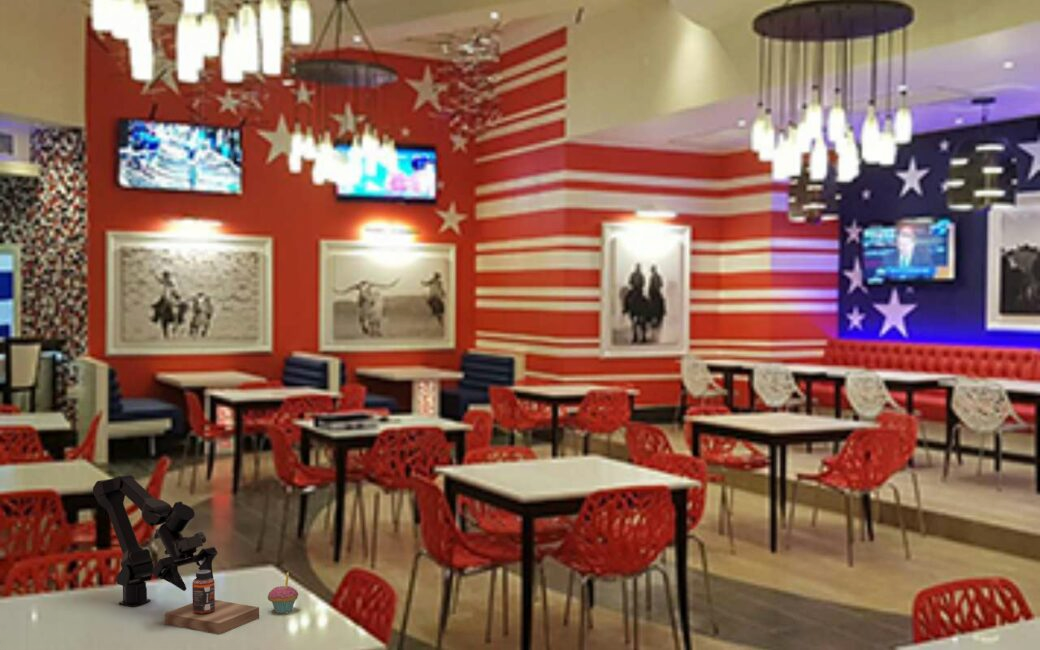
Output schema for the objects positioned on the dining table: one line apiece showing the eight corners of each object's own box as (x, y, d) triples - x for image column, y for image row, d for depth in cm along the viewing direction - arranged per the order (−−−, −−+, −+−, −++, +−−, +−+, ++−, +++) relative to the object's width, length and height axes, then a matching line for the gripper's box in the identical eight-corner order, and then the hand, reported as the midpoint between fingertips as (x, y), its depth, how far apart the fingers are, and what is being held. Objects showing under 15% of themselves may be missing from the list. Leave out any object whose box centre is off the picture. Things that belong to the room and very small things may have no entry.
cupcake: (304, 608, 311) (303, 567, 311) (286, 617, 304) (285, 575, 303) (280, 605, 315) (279, 564, 315) (261, 613, 307) (261, 571, 307)
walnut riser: (164, 624, 298) (164, 613, 298) (205, 608, 312) (205, 598, 312) (219, 634, 289) (219, 623, 289) (259, 617, 303) (259, 607, 303)
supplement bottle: (214, 614, 297) (213, 573, 296) (191, 615, 296) (191, 574, 295) (215, 607, 303) (215, 568, 302) (193, 609, 302) (193, 569, 301)
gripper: (158, 530, 295) (183, 576, 289) (213, 518, 310) (238, 562, 304) (141, 554, 300) (166, 600, 294) (196, 541, 315) (221, 585, 309)
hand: (199, 586), depth 300 cm, fingers open, 9 cm apart
